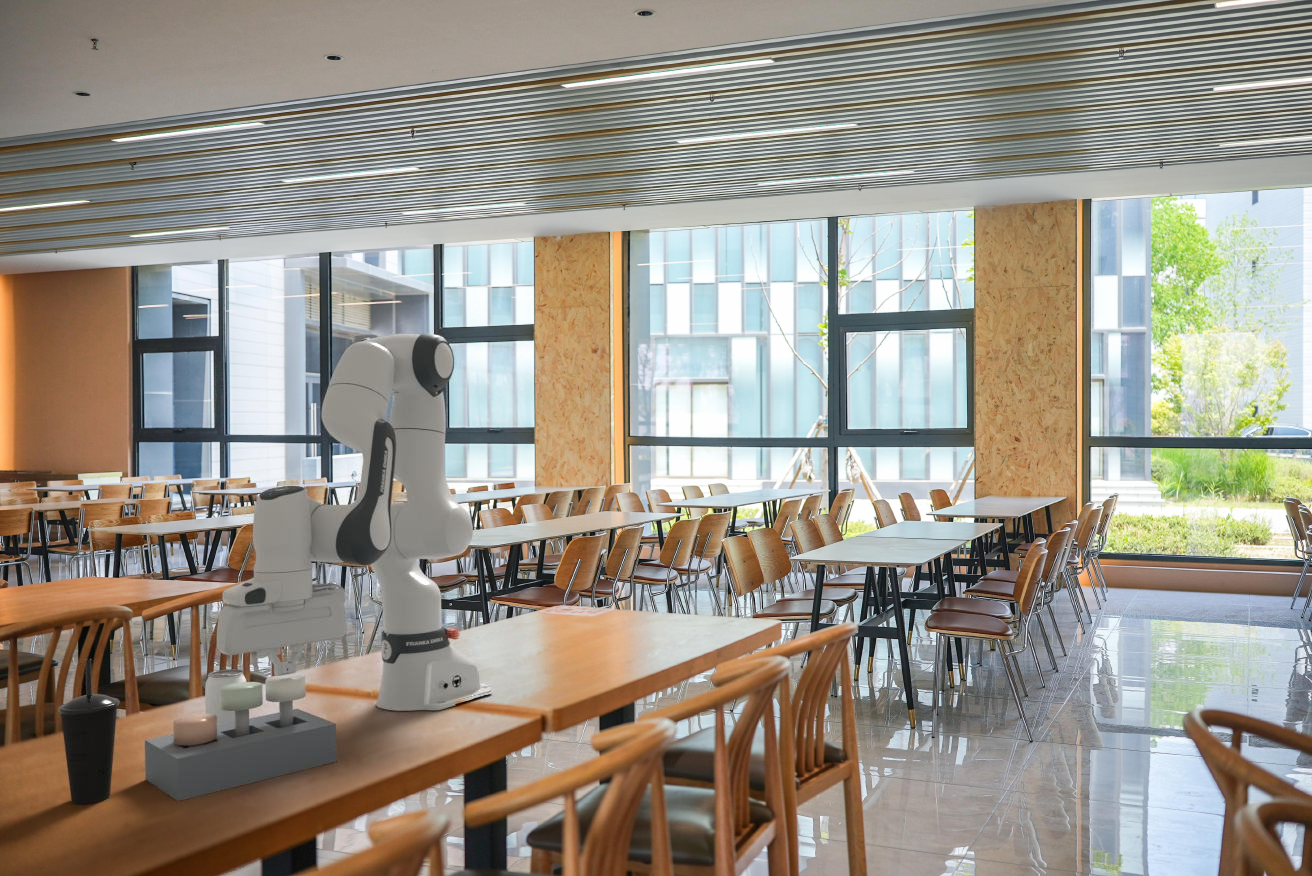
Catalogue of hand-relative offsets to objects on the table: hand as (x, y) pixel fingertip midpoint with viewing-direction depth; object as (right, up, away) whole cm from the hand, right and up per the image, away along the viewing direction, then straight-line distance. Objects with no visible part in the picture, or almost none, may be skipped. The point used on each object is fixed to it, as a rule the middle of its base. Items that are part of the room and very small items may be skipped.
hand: (285, 674), depth 161 cm
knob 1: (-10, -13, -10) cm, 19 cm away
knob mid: (-5, -9, -5) cm, 12 cm away
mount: (-5, -14, -5) cm, 15 cm away
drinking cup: (-22, -14, -16) cm, 31 cm away
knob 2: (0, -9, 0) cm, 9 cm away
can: (-14, -14, +10) cm, 22 cm away
